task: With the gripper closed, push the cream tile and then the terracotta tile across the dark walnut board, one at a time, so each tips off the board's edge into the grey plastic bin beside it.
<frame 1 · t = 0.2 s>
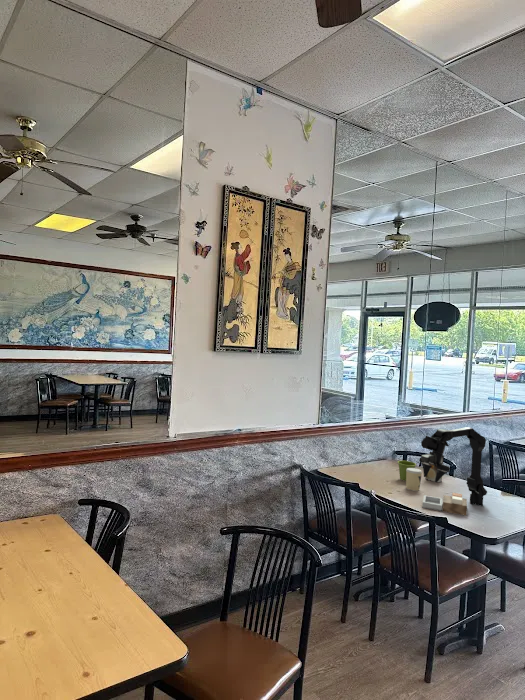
hand: (430, 479, 270), 15 cm above the table, tool pointing down, fingers open, 9 cm apart
cream tile: (456, 502, 265), point 5 cm above the table, touching walnut board
coffee box: (433, 480, 327), on the table
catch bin: (432, 505, 273), on the table
coffee cup: (412, 489, 303), on the table
terracotta tile: (456, 499, 272), point 5 cm above the table, touching walnut board
walnut board: (454, 509, 269), on the table
plant pot: (405, 480, 323), on the table
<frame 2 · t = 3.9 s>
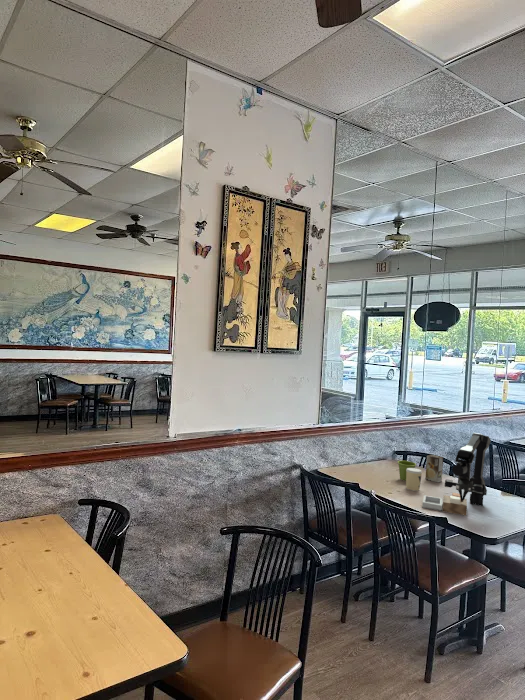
hand: (462, 501, 264), 6 cm above the table, tool pointing down, fingers closed
cream tile: (454, 502, 265), point 5 cm above the table, touching gripper, walnut board
everything else where it was.
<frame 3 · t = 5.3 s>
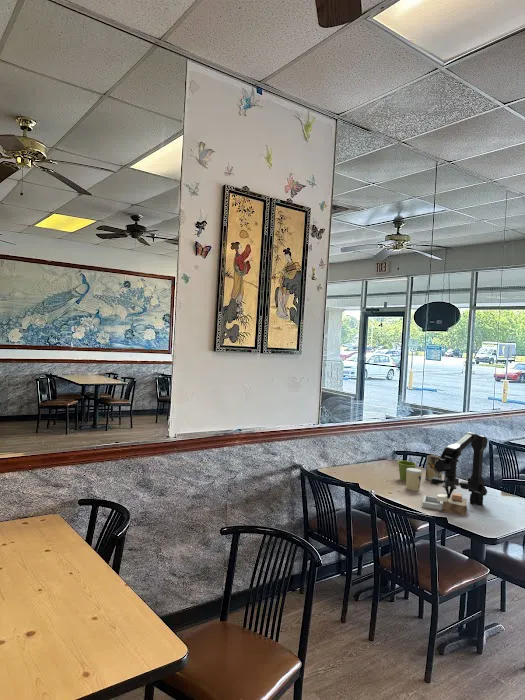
hand: (448, 498, 266), 6 cm above the table, tool pointing down, fingers closed
cream tile: (442, 500, 268), point 5 cm above the table, tilted 7°, touching gripper, walnut board
everything else where it was.
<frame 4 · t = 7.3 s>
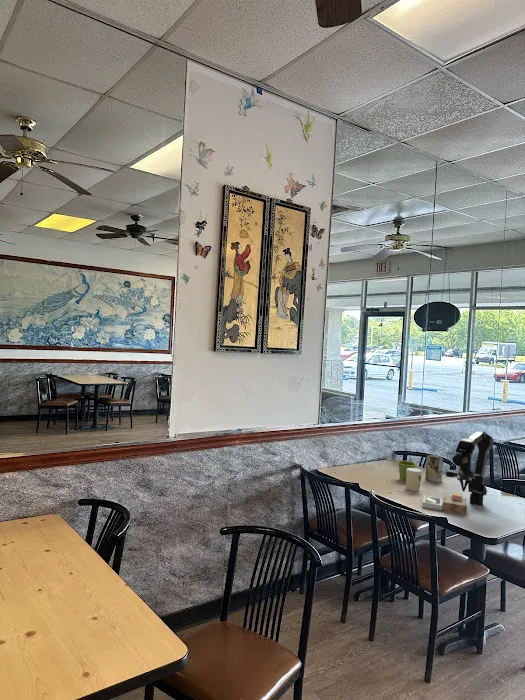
hand: (463, 491, 268), 11 cm above the table, tool pointing down, fingers closed
cream tile: (431, 499, 271), point 4 cm above the table, tilted 163°, touching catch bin
everything else where it was.
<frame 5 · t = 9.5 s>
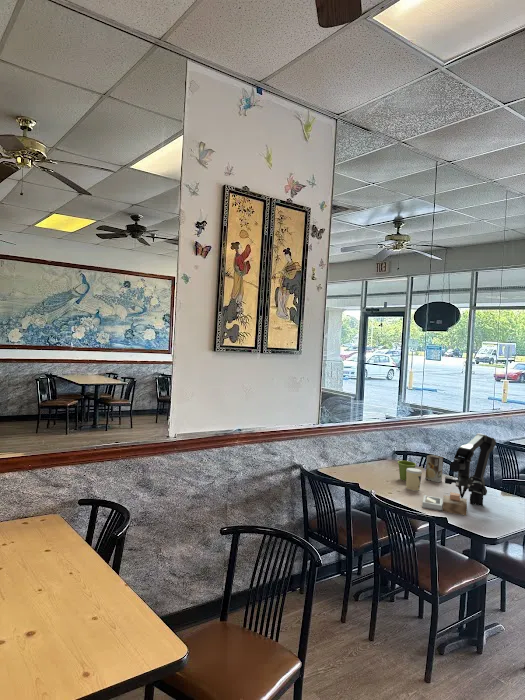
hand: (461, 497, 271), 6 cm above the table, tool pointing down, fingers closed
terracotta tile: (454, 498, 272), point 5 cm above the table, touching gripper
everything else where it was.
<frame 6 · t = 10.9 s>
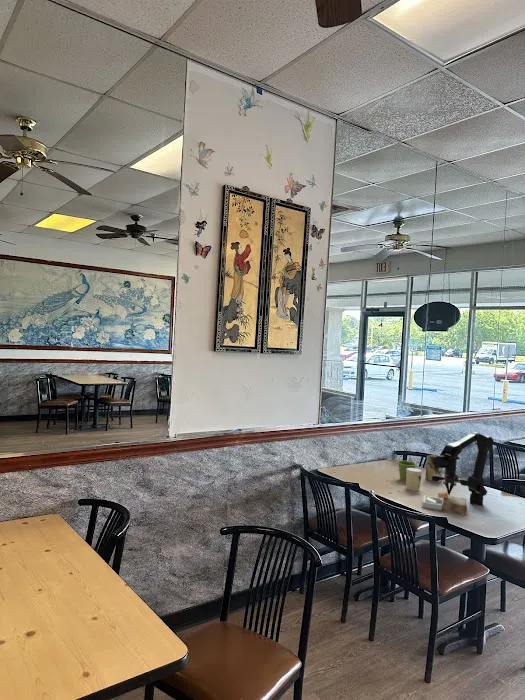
hand: (448, 495, 273), 6 cm above the table, tool pointing down, fingers closed
terracotta tile: (443, 496, 274), point 5 cm above the table, tilted 9°, touching gripper, walnut board
everything else where it was.
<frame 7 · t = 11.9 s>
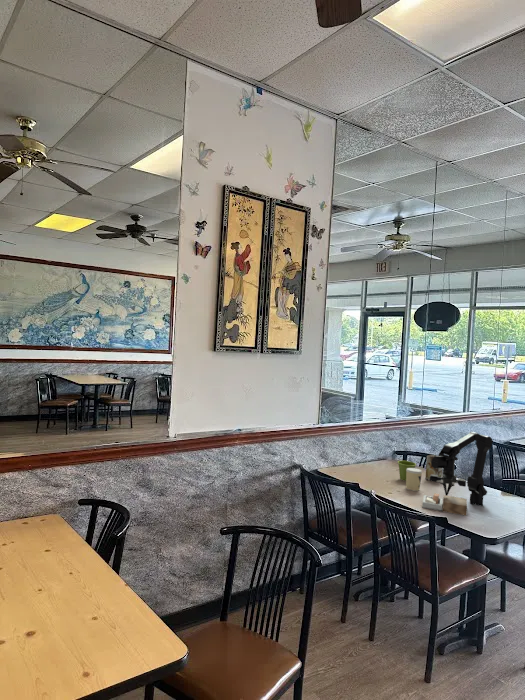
hand: (446, 495, 273), 6 cm above the table, tool pointing down, fingers closed
terracotta tile: (438, 499, 274), point 3 cm above the table, tilted 90°, touching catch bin
everything else where it was.
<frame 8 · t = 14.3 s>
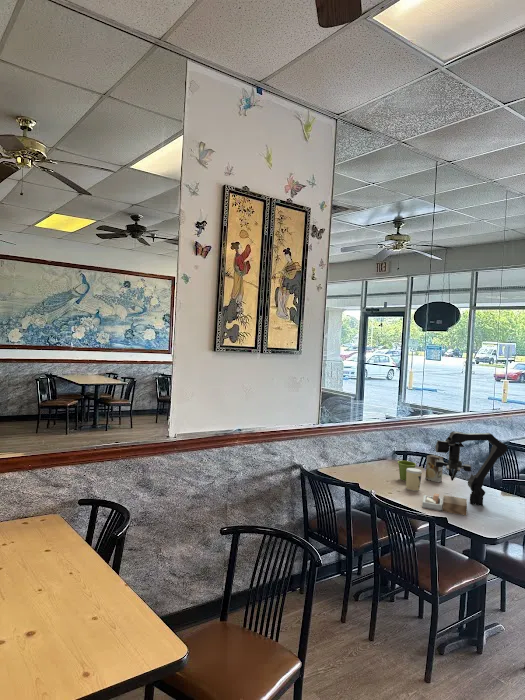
hand: (452, 480, 283), 12 cm above the table, tool pointing down, fingers closed
nothing on the table moved.
at the end: terracotta tile inside the target area (3.9 cm from its centre), point 3.1 cm above the table; cream tile inside the target area (2.5 cm from its centre), point 3.7 cm above the table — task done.
